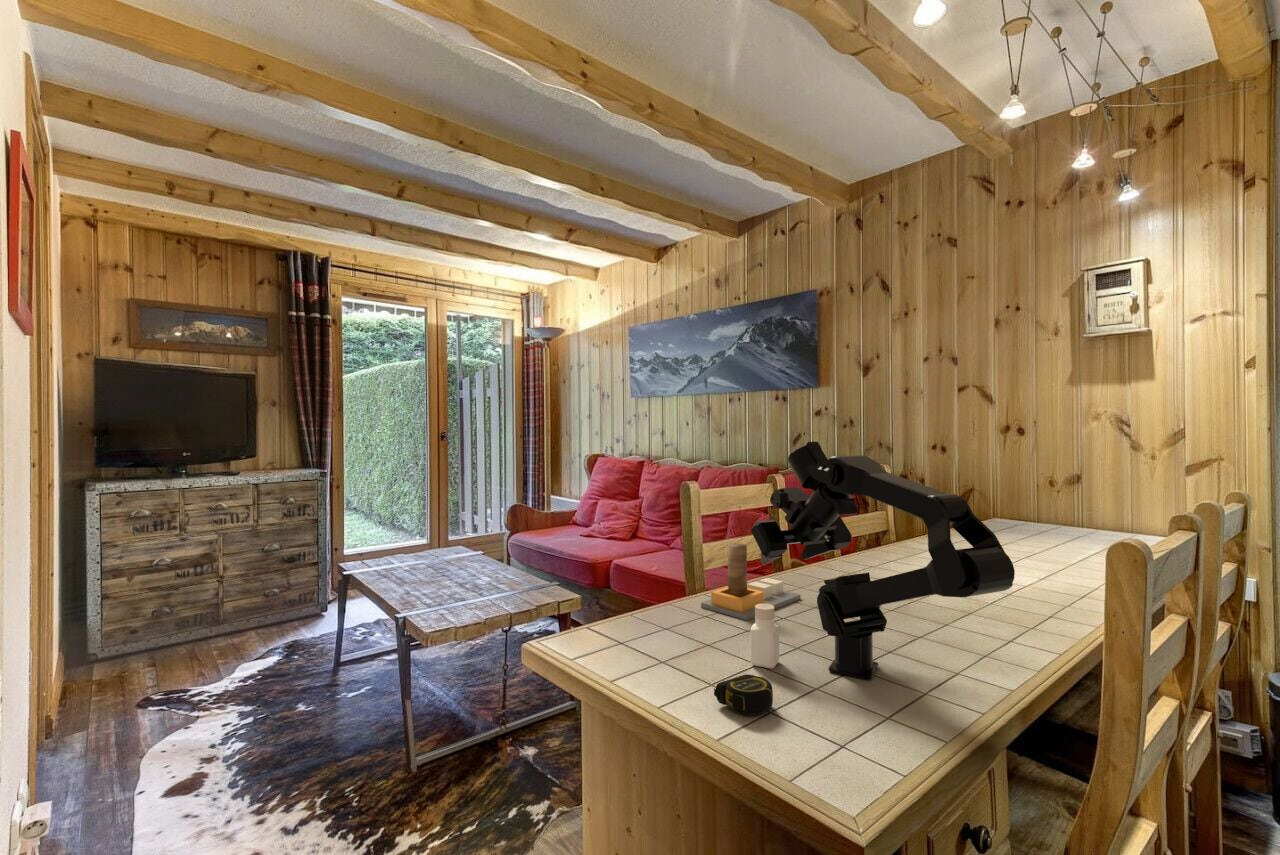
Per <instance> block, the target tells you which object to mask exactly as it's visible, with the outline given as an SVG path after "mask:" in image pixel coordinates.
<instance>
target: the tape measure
mask: <svg viewBox="0 0 1280 855" xmlns="http://www.w3.org/2000/svg"><path fill="white" fill-rule="evenodd" d="M773 692H774V691H773V686H772V683H771V682H770V681H769V680H768V679H767V678H764V677H762V676H757V675H753V674H742V675H739V676H736V677H733V678H729V679H727V680H723V681H720V682H719V683H717V684H716V687H715V688H713V695H714V697H715V698H716V700H717V701H718V702H717V703H719V704H721V705H722V706H727V707H728V708H729V709H730V710H731V711H733V712H735V713H738V714H742V715H759V714H762V713H765V712H767V711H768V710H770V709H772V706H773V703H774V702H773V701H774V700H773V699H774V694H773Z"/></svg>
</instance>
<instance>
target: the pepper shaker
mask: <svg viewBox="0 0 1280 855" xmlns="http://www.w3.org/2000/svg"><path fill="white" fill-rule="evenodd" d="M775 618H776V617H775V609H774V606H773V605H770V604H757V605H755V618H754V620H755V622H754V623H753V624H752V625H751V628H750V662H751V665H752V666H756V667H761V668H762V667H763V668H766V669H775V667H776V665H778V662H779V660H780V626H779V625H777V624H775Z"/></svg>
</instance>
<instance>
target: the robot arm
mask: <svg viewBox="0 0 1280 855" xmlns="http://www.w3.org/2000/svg"><path fill="white" fill-rule="evenodd" d="M825 454H826V453H824V451H823V449H822V447H821V445H820V443H819V441H807V443H806V444H805V445H803V446H800V447H799V448H797V449H795V450H794V451H793V452H791V453H790V454H789V456H788V458H787V462H788V464H789V466H790V467H791V470H792V471H793V473H794V474H795V477H796V479H797V480H798V482H799V483H800V486H802V488H803V489H808V490H809V489H810V490H811V491H812V493H811V494H810V496H809V495H808V494H807V493H806V492H805V491H803V489H802V488H800V487H793V486H792V487H782V488H777V489H775V490H774V491H773V492H772V493H771V494H770V499H769V501H770V502H769V503H770V504H771V505H772V506H773V507H775V509H776V510H780V509H781V510H782V512H784V513H785V516H784V517H783V518H784V520H785V522H786V523H787V524H789V529H785V530H781V527H780V526H779V524H778V521H776V520H773V519H772V520H760V521H755V522H754V525H753V526H752V527H751V529H750V532H751V534H752V537H753V538H754V540H755V542H756V544H757V546H758V549H759V550H760V562H761V564H762V565H763V566H764V565H767V564H769V563H772V562H773V561H776V560H778V559H779V558H782V557H783V554H785V553H786V551H788V545H793V544H800V545H801V546H804V548H803V550H802V552H801V554H800V557H801V559H802V560H809V559H812V558H815V557H817V556H821V555H824V554H827V553H831V552H834V551H840V549H843V548H844V549H845V548H848V546H849V545H851V543H852V540H853V534H852V533H851V532H850V530H849V528H848V527H847V525H846V523H845V522H844V520H843V519H842V517H841V516H851V515H857V514H858V513H859V509H858V506H857V503H856V502H857V501H856V498H854V497H852V496H853V495H854V496H863V497H868V498H871V499H873V500H876V501H877V502H880V503H883V504H884V505H887V506H890V507H892V508H894V509H897V510H900V511H902V512H904V513H905V514H909V515H911V516H914V517H916V518H919V519H921V520H922V521H923V523H924V524H925V527H926V529H927V550H928V553H929V555H930V557H931V560H930V561H929V563H928V564H927V565H926V566H924V567H922V568H917V569H915V570H914V569H913V570H909V571H905V572H902V573H898V574H894V575H891V576H886V577H882V578H878V579H874V580H871V577H870V576H871V575H870V572H864V573H854V574H848V575H840V576H838V577H835V578H832V579H825V580H823V583H824V584H823V585H821V586H820V587H819V589H818V591H819V592H818V595H817V598H816V603H817V604H816V605H817V608H818V612H819V617H820V621H821V627H822V629H823V631H825V632H827V635H828V636H831V637H834V660H833V661H832V662H831V663H830V665H829V666H828V671H829V672H831V673H835V674H840V675H845V676H850V677H854V678H859V679H864V680H872V679H873V678H874V676H875V674H876V672H877V669H878V668H879V662H878V661H874V660H873V659H874V657H873V656H874V655H873V653H874V652H873V650H874V648H873V644H874V643H873V642H874V641H873V640H874V639H873V636H874V635H873V634H875V633H879V632H881V633H883V632H885V630H886V626H887V623H888V620H887V618H886V617H885V615H884V613H883V612H882V609H881V607H882V606H883V605H885V606H886V605H888V604H889V605H890V604H894V603H900V602H904V601H909V600H915V599H919V598H923V597H924V598H926V597H929V596H941V597H944V598H945V597H947V598H969V597H974V596H980V595H986V594H987V595H988V594H993V593H998V592H1005V591H1007V590H1010V589H1011V588H1012V587H1013V585H1014V584H1013V582H1014V581H1015V572H1016V571H1015V566H1014V563H1013V561H1012V560H1011V558H1010V556H1009V555H1008V554H1007V553H1006V551H1005V550H1004V548H1003V546H1002V545H1001V543H1000V541H999V539H998V538H997V536H996V534H995V533H994V532H993V531H992V530H991V529H990V528H989V527H987V525H985V523H983V522H982V521H981V520H980V519H979V517H977V516H976V515H975V514H974V512H973V511H972V509H971V507H970V505H969V504H968V502H967V501H966V499H965V498H963V497H962V496H960V495H958V494H955V493H946V492H945V491H941V490H939V489H935V488H934V487H930V486H927V485H924V484H921V483H918V482H916V481H913V480H910V479H907V478H904V477H901V476H898V475H895V474H892V473H890V472H888V471H887V470H884V468H883V467H882V465H881V464H880V463H879V462H877V461H876V460H873V459H872V458H871V457H869V456H867V455H863V454H862V455H861V454H858V455H857V454H856V455H835V456H830V457H829V459H828V458H827V455H825ZM951 527H952V528H953V529H954V530H955V531H956V532H957V533H958V534H959V535H960V536H961V537H962V538H963V539H964V540H966V541H967V543H968V544H969V545H970V546H971V547H968V548H967V547H966V548H960V549H959V548H957V549H956V548H955V545H954V543H953V542H952V539H951V538H952V537H951V536H952V535H951ZM855 618H859V619H856V620H850V621H845V620H849V619H855Z"/></svg>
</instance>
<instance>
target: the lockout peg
mask: <svg viewBox="0 0 1280 855" xmlns="http://www.w3.org/2000/svg"><path fill="white" fill-rule="evenodd" d="M747 546H748V545H747V544H745V543H739V542H738V543H737V542H735V543H734V542H733V543H728V544H727V585H728V586H727V587H728V594H729V595H733V596H736V597H743V596H746V595H747V587H748V554H747V551H748V548H747Z"/></svg>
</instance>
